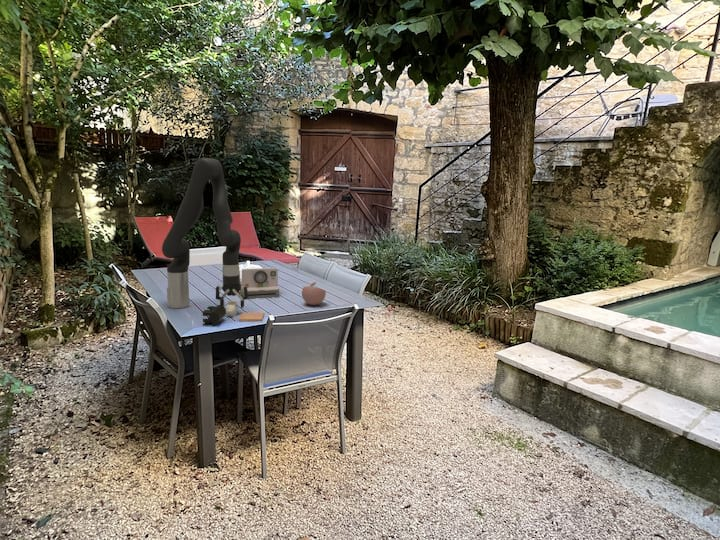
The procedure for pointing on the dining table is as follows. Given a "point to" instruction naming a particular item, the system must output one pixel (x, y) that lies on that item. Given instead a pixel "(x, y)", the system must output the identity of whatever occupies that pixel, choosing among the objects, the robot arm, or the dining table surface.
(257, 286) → the instant camera
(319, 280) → the dining table surface
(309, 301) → the apple
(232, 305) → the connector
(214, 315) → the dark knobbly lump
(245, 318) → the tile
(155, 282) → the dining table surface
